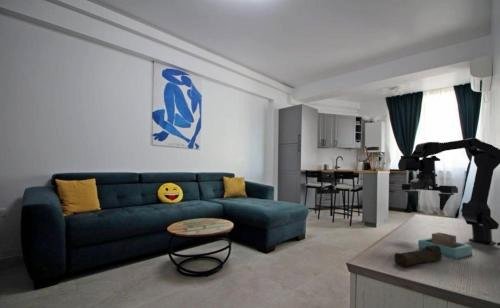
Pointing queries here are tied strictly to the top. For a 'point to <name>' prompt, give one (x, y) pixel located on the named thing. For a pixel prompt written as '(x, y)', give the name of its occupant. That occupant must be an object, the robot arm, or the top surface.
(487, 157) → the robot arm
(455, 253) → the tray
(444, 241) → the walnut block
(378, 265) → the top surface
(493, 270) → the top surface
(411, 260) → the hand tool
